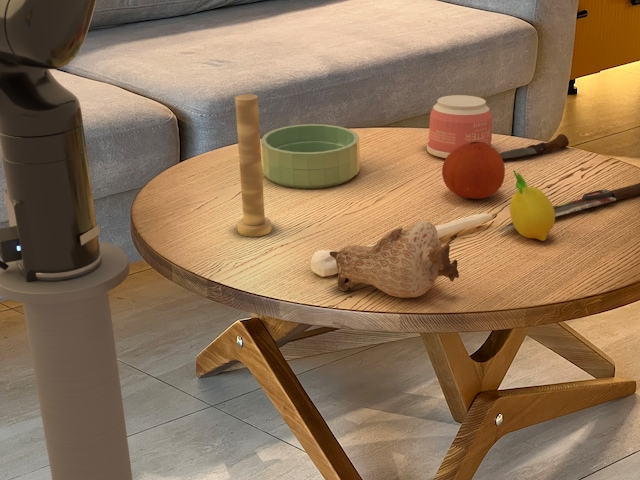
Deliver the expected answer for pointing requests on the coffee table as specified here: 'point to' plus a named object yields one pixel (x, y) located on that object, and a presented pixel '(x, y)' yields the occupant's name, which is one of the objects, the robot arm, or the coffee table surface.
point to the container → (458, 124)
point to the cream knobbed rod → (327, 264)
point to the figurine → (398, 262)
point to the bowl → (310, 155)
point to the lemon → (531, 211)
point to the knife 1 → (537, 148)
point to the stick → (250, 167)
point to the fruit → (473, 170)
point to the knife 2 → (592, 201)
